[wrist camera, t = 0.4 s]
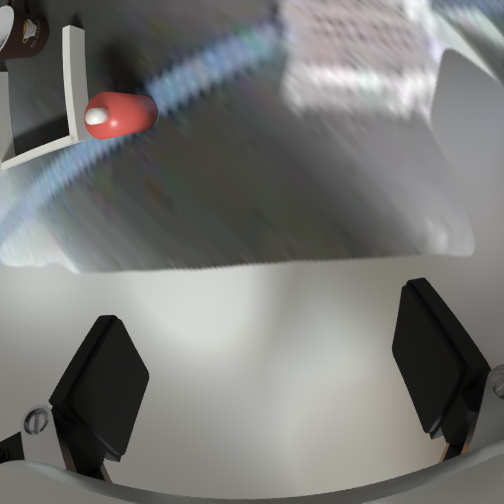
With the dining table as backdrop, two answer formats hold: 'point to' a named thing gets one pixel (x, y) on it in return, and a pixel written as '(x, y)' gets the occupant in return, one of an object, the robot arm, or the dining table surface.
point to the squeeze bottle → (119, 114)
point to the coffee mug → (21, 33)
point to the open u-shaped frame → (76, 95)
